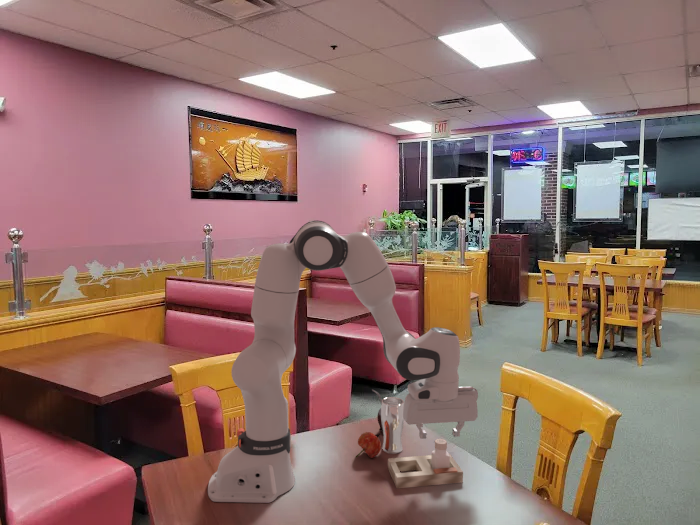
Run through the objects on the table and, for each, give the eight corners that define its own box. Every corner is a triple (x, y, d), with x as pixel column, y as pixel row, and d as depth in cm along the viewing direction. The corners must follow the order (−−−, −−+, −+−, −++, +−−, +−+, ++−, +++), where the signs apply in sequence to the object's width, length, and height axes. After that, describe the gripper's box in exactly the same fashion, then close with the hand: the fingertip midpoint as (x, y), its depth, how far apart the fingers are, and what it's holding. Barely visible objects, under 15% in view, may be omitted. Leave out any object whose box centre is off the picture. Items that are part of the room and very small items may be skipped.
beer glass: (402, 455, 151) (403, 406, 149) (379, 453, 153) (379, 404, 151) (404, 444, 158) (405, 397, 156) (382, 442, 159) (382, 395, 158)
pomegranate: (364, 471, 147) (391, 448, 148) (348, 451, 146) (375, 429, 147) (360, 461, 154) (386, 439, 155) (345, 442, 154) (371, 420, 155)
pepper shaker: (430, 471, 142) (431, 438, 141) (443, 469, 144) (444, 437, 142) (436, 479, 139) (437, 445, 137) (450, 477, 140) (451, 443, 139)
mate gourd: (402, 430, 168) (403, 386, 166) (392, 440, 161) (392, 394, 159) (382, 425, 172) (382, 382, 170) (370, 434, 165) (371, 389, 163)
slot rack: (396, 488, 134) (397, 476, 134) (387, 468, 144) (387, 457, 144) (462, 482, 137) (463, 470, 137) (449, 463, 147) (449, 452, 146)
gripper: (473, 382, 143) (471, 429, 145) (402, 385, 140) (400, 433, 142) (483, 390, 137) (480, 439, 139) (408, 393, 134) (406, 444, 135)
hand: (439, 436), depth 140 cm, fingers open, 8 cm apart
